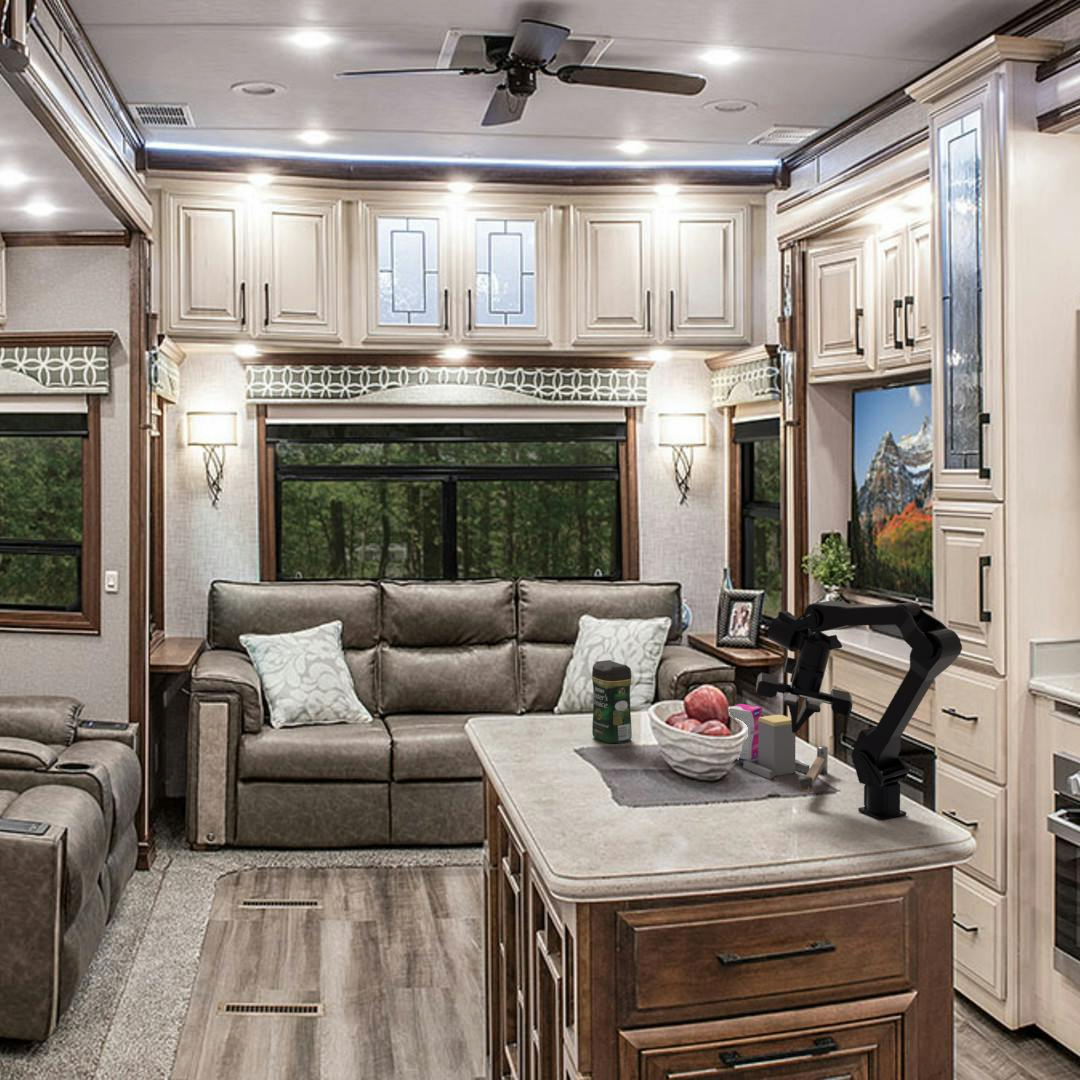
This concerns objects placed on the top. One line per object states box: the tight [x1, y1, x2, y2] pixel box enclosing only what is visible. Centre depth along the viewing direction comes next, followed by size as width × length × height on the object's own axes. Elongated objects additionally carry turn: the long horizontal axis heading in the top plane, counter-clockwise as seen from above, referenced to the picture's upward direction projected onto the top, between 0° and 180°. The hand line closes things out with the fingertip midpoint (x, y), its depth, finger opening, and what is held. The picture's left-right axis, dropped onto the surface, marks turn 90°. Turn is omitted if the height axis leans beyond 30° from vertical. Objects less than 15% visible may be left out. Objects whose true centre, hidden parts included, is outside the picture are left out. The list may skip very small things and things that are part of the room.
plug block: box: [758, 714, 797, 776], centre depth 263 cm, size 6×6×11 cm
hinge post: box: [816, 745, 829, 775], centre depth 261 cm, size 2×2×6 cm
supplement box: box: [729, 703, 763, 762], centre depth 274 cm, size 6×6×12 cm
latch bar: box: [798, 756, 826, 793], centre depth 249 cm, size 3×22×2 cm, turn 159°
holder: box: [742, 758, 810, 780], centre depth 264 cm, size 10×10×2 cm
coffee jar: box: [591, 659, 633, 744], centre depth 291 cm, size 10×8×19 cm
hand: (793, 731), depth 249 cm, fingers closed
